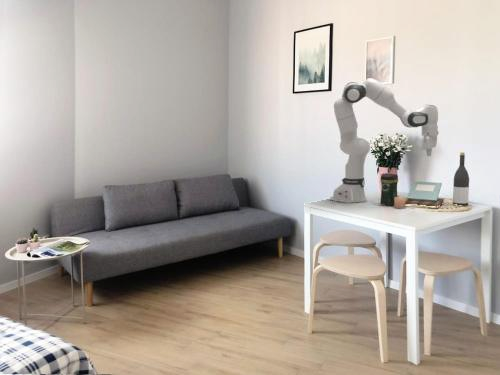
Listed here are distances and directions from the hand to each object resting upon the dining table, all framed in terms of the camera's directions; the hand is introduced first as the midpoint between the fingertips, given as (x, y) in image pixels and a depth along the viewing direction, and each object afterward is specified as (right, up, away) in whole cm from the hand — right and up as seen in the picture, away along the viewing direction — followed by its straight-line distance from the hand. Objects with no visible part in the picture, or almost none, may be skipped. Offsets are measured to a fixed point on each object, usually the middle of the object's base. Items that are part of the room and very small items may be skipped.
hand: (428, 156), depth 275 cm
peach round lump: (-21, -30, -12) cm, 39 cm away
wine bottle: (+14, -29, -9) cm, 34 cm away
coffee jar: (-24, -29, -2) cm, 38 cm away
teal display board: (-5, -21, -7) cm, 23 cm away
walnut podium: (-6, -29, -7) cm, 30 cm away
